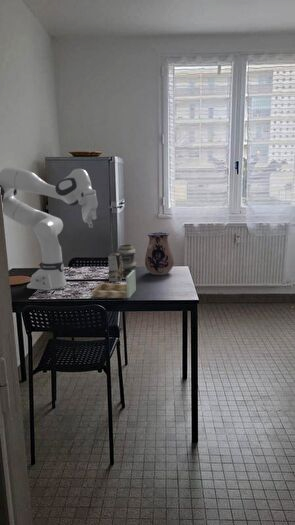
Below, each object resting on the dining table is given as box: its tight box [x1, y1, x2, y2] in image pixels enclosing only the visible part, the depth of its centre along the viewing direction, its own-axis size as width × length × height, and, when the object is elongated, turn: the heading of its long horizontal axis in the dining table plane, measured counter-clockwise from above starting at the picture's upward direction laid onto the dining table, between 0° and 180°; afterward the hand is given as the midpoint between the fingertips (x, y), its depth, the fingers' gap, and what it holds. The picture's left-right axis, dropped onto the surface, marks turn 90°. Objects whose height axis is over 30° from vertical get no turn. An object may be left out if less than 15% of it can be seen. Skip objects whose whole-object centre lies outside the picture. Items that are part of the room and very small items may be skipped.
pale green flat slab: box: [125, 269, 137, 299], centre depth 209 cm, size 1×14×12 cm, turn 167°
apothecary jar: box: [116, 243, 137, 276], centre depth 252 cm, size 12×12×18 cm
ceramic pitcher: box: [144, 231, 174, 276], centre depth 250 cm, size 18×21×25 cm
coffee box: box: [107, 252, 124, 282], centre depth 237 cm, size 9×6×16 cm
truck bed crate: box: [91, 282, 128, 299], centre depth 212 cm, size 18×14×4 cm
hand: (93, 223), depth 202 cm, fingers open, 8 cm apart
